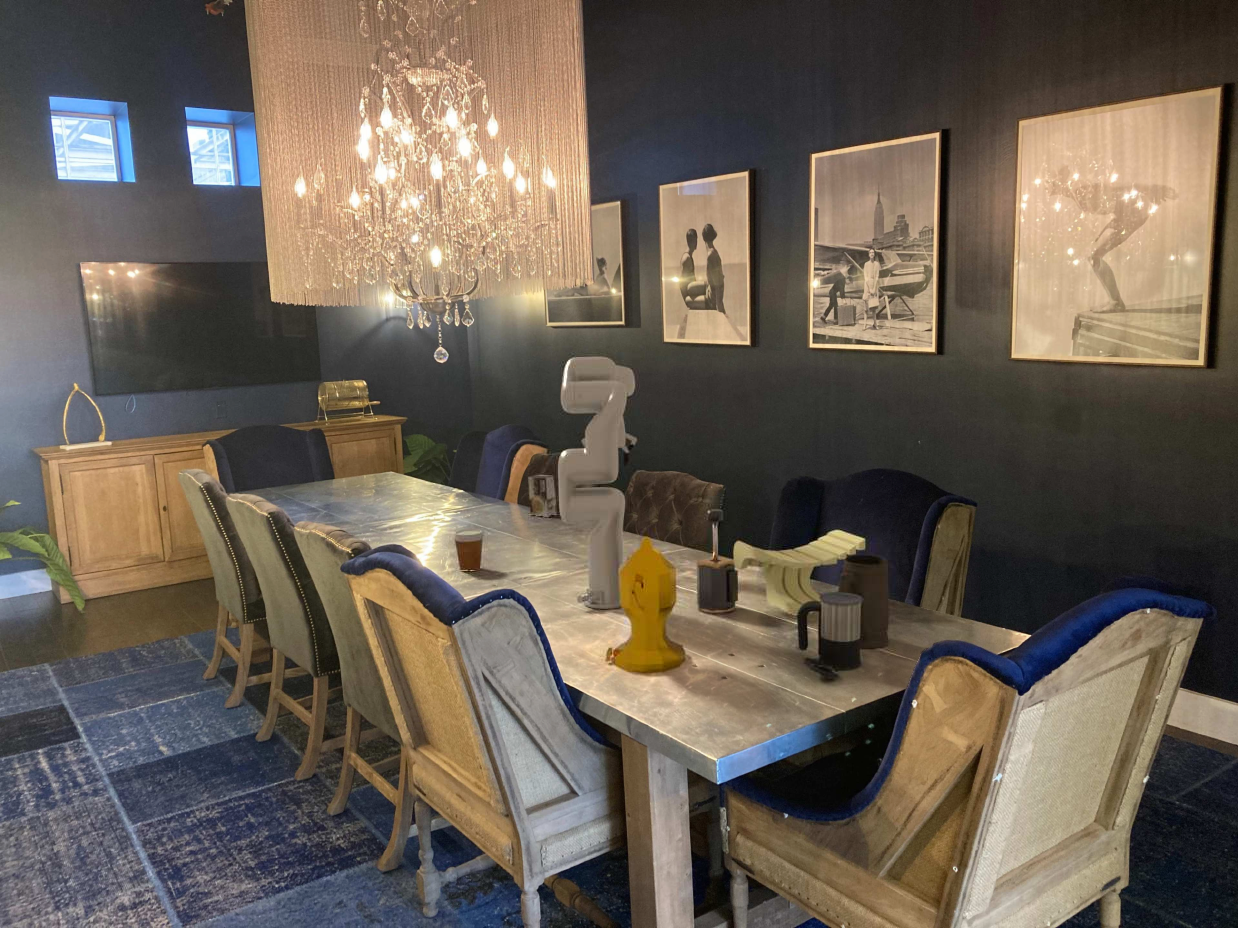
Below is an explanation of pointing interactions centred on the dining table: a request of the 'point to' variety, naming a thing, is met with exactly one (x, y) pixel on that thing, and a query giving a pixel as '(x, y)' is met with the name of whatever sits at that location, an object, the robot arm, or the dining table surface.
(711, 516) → the plunger
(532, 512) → the coffee box
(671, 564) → the yellow tall piece
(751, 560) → the slatted curved stool
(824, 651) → the milk frother
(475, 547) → the glass of beer
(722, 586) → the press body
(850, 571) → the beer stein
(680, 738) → the dining table surface
